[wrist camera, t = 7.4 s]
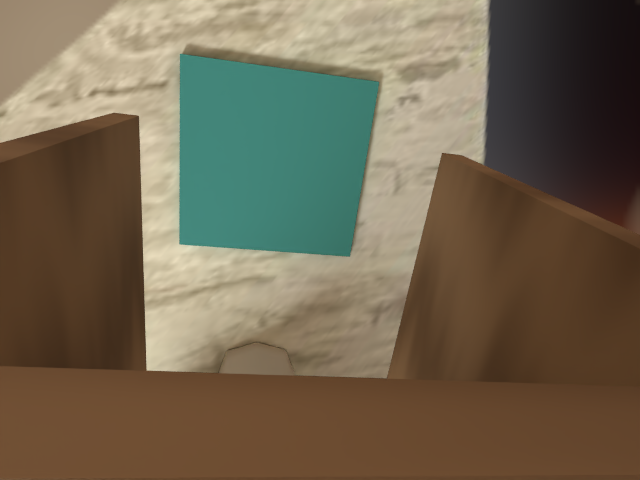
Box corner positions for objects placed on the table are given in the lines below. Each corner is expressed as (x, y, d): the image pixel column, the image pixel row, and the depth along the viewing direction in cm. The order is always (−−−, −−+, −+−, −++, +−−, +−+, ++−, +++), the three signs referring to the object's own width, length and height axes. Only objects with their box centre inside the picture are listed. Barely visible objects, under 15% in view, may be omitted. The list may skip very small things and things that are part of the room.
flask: (216, 341, 37) (198, 428, 28) (295, 339, 38) (303, 423, 29) (219, 403, 40) (203, 502, 30) (293, 400, 41) (299, 495, 31)
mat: (348, 253, 35) (349, 256, 35) (181, 241, 33) (179, 244, 32) (377, 81, 30) (379, 81, 30) (181, 54, 28) (180, 53, 27)
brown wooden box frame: (395, 407, 18) (586, 927, 7) (128, 401, 16) (-163, 1074, 5) (461, 155, 14) (1168, 470, 3) (114, 112, 12) (-1291, 487, 1)
